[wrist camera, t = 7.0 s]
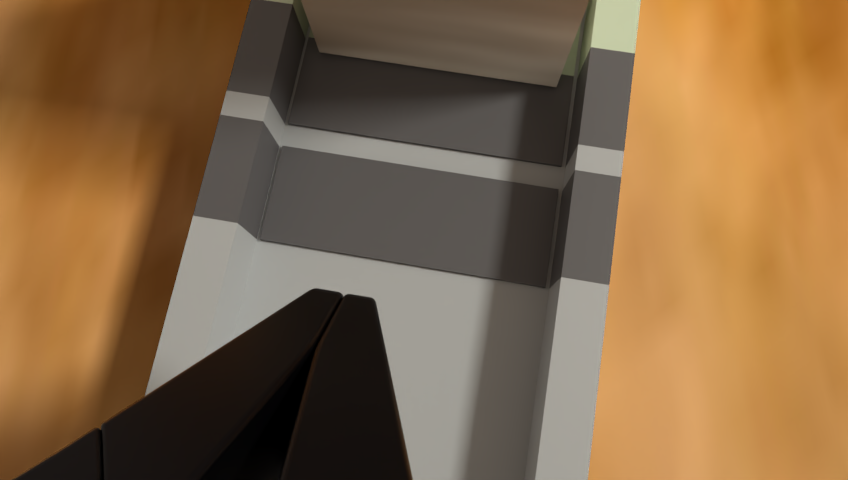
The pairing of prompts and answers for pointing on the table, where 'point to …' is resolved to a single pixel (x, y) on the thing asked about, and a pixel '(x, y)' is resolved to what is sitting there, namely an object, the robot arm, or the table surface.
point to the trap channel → (423, 232)
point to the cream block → (453, 34)
